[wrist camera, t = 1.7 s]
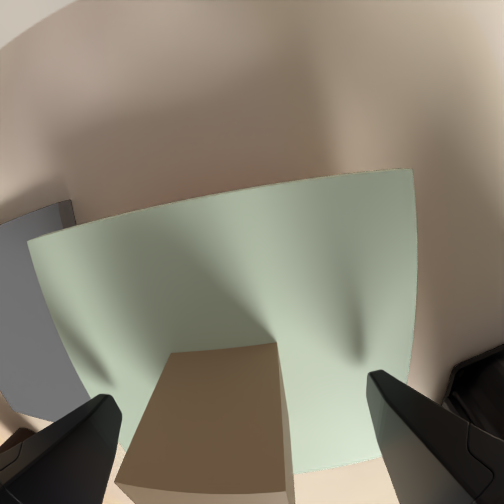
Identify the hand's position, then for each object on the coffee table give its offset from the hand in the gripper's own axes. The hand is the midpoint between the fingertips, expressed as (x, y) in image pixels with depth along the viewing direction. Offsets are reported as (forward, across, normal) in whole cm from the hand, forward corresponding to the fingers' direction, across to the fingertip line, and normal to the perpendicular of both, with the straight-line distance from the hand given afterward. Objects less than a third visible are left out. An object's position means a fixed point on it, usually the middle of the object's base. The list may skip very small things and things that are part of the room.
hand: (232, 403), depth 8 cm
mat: (+5, +13, 0) cm, 14 cm away
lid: (+2, 0, 0) cm, 2 cm away
